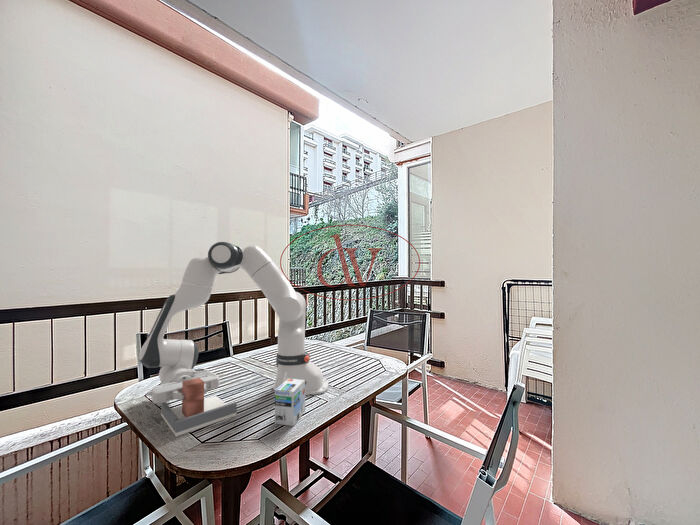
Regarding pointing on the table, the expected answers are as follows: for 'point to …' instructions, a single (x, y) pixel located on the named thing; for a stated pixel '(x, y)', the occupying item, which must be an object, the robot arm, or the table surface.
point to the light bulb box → (289, 402)
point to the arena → (197, 415)
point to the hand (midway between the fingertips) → (194, 394)
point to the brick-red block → (193, 397)
